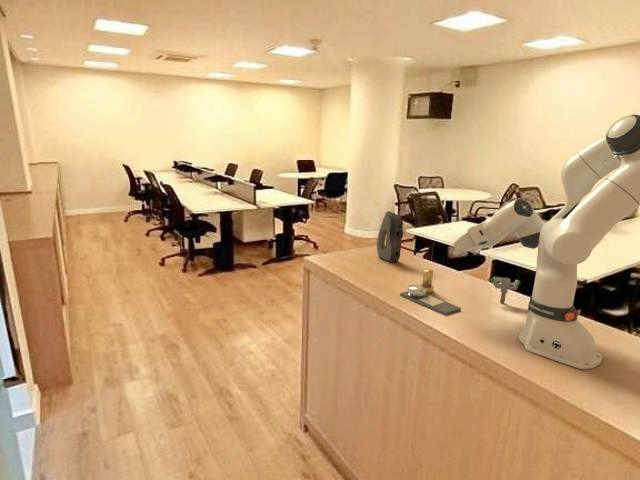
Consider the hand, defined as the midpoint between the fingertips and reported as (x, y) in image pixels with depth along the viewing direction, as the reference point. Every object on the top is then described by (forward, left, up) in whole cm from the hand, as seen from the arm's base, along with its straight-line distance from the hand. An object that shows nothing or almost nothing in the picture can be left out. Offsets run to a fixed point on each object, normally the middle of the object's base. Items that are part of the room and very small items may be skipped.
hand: (463, 252), depth 156 cm
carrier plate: (+5, +11, -20) cm, 23 cm away
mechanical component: (-10, -15, -20) cm, 27 cm away
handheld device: (+55, -16, -20) cm, 60 cm away
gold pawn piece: (+14, +2, -20) cm, 24 cm away
